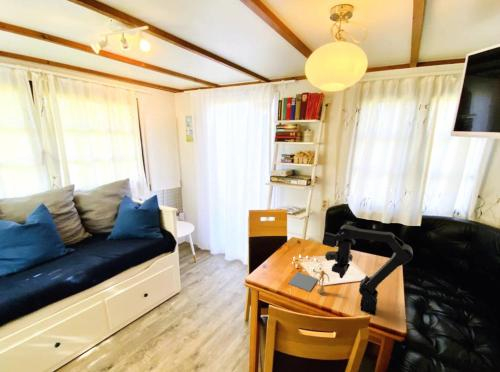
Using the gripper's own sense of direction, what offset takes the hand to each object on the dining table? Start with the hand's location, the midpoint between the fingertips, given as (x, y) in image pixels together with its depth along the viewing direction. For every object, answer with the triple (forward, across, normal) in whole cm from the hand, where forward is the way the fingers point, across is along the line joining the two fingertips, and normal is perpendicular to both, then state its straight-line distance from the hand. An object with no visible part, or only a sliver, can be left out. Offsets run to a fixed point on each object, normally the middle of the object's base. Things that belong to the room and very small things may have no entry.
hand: (341, 277), depth 120 cm
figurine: (+12, 0, -10) cm, 16 cm away
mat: (+12, -3, -21) cm, 24 cm away
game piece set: (+13, -23, -27) cm, 38 cm away
